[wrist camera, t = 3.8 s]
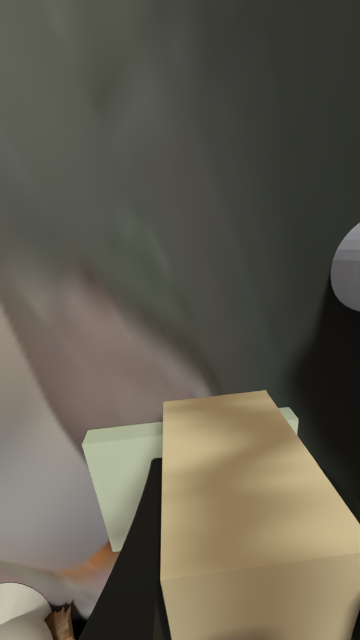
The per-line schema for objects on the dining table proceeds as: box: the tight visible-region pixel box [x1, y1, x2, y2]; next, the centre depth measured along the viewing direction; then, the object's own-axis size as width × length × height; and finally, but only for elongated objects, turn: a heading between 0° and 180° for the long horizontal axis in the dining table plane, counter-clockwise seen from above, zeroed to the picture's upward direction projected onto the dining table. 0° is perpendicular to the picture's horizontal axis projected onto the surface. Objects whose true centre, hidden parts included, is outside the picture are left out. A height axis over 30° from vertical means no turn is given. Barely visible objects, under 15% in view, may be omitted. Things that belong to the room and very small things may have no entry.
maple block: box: [160, 391, 360, 640], centre depth 9 cm, size 5×5×6 cm
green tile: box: [82, 407, 298, 552], centre depth 21 cm, size 18×14×2 cm
